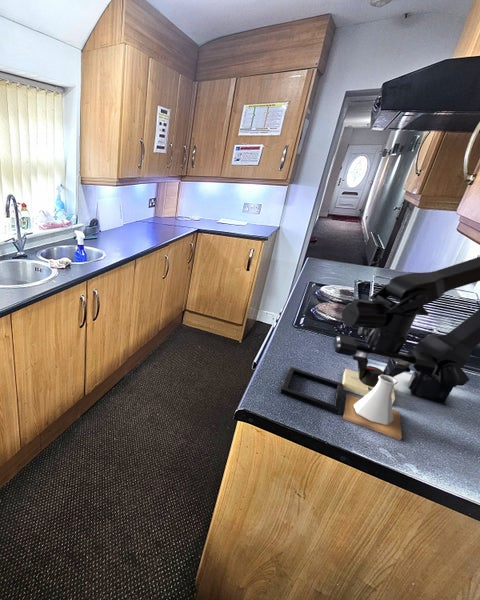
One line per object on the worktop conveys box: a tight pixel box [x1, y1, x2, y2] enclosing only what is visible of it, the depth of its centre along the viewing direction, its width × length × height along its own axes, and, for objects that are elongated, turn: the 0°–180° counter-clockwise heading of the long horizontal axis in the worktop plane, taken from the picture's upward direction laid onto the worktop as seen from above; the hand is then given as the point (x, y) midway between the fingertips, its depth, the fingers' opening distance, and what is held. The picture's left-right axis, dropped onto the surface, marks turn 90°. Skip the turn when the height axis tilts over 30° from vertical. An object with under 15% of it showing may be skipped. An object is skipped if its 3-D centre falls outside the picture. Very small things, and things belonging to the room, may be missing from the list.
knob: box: [360, 365, 384, 387], centre depth 84 cm, size 4×4×4 cm
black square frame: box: [280, 366, 344, 415], centre depth 85 cm, size 12×12×2 cm
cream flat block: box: [341, 368, 396, 405], centre depth 85 cm, size 10×8×2 cm
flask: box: [353, 374, 399, 425], centre depth 74 cm, size 7×7×10 cm
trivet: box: [342, 393, 403, 441], centre depth 76 cm, size 10×10×1 cm
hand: (369, 381), depth 85 cm, fingers closed on knob, 4 cm apart
